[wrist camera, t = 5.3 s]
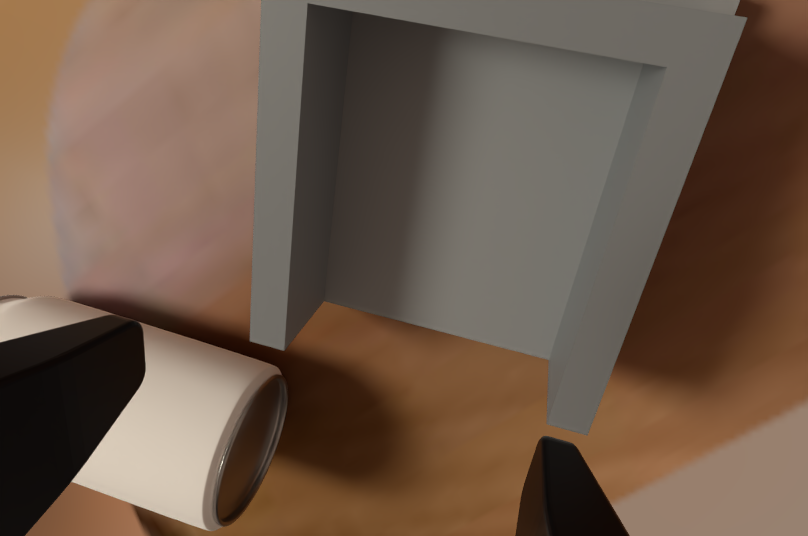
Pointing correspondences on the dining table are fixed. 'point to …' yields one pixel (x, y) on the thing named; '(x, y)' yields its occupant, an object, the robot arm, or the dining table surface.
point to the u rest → (479, 167)
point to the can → (177, 421)
